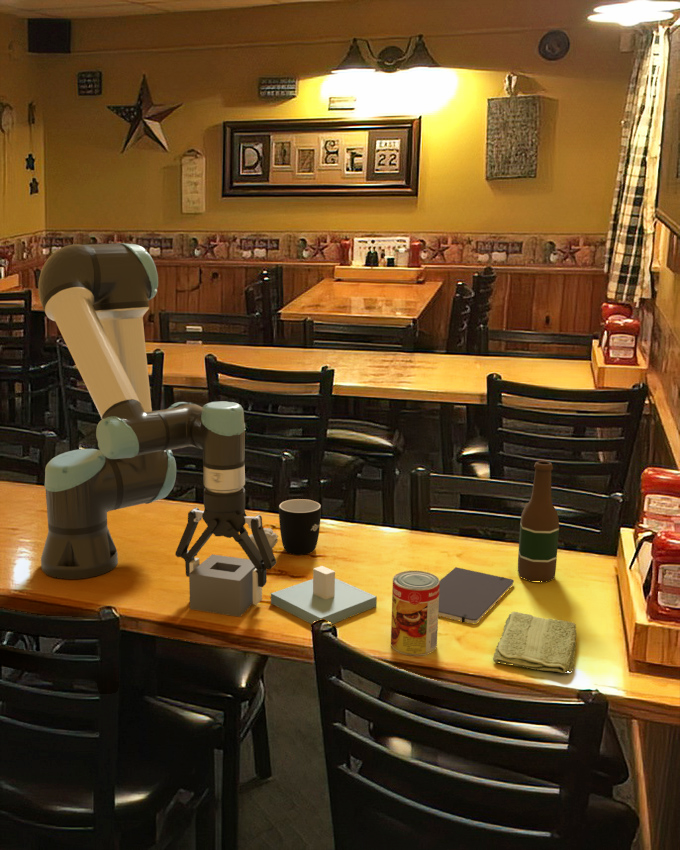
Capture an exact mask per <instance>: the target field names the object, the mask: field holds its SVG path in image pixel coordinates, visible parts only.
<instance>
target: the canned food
mask: <svg viewBox="0 0 680 850" xmlns="http://www.w3.org/2000/svg"><path fill="white" fill-rule="evenodd" d="M440 580H441V579H439V577H438V576H437V575H436V574H434V573H430V572H428V571H423V570H405V571H401V572H398V573H396V574H395V575H394V576H393V577H392V591H391V592H392V593H391V594H392V595H391V621H390V622H391V624H390V626H391V627H390V645H391V647H392V649H393V650H394V651H396V652H398V653H400V654H403V655H406V656H418V655H420V656H424V655H425V654H426V655H429V654H431V653H433V652H434V651H435V650H436V649H437V647H438V632H439V631H438V628H439V626H438V625H439V616H438V609H439V586H440ZM436 646H437V647H436ZM435 648H436V649H435ZM433 650H434V651H433ZM432 651H433V652H432ZM430 652H431V653H430ZM428 653H429V654H428Z"/></svg>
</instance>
